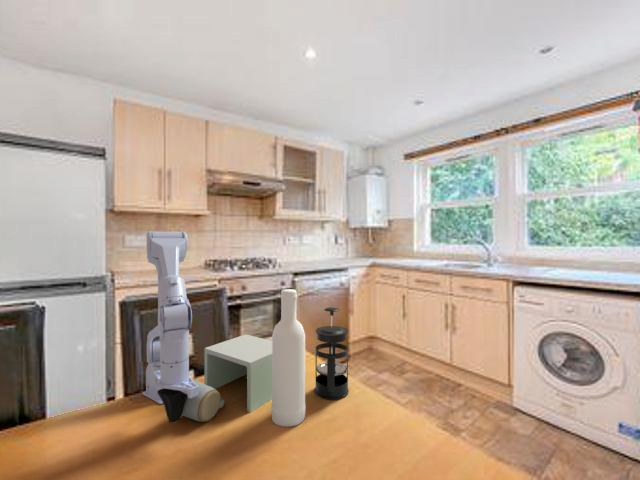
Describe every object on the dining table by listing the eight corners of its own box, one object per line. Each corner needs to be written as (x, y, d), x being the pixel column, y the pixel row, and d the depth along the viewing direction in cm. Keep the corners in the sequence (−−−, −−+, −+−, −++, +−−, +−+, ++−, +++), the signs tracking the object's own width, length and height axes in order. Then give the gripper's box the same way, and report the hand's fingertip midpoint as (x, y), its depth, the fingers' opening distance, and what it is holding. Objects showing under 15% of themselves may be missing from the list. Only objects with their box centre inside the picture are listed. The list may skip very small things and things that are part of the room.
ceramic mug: (199, 430, 68) (199, 395, 68) (173, 420, 72) (173, 387, 72) (232, 407, 77) (232, 376, 78) (208, 400, 81) (208, 370, 81)
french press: (316, 381, 91) (316, 303, 91) (348, 382, 91) (348, 304, 91) (312, 402, 80) (312, 313, 80) (349, 404, 79) (349, 314, 79)
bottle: (268, 427, 69) (269, 293, 69) (274, 408, 77) (274, 287, 77) (304, 427, 69) (304, 293, 69) (306, 408, 77) (306, 287, 77)
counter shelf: (204, 391, 85) (204, 348, 85) (245, 372, 98) (245, 334, 98) (250, 412, 75) (250, 362, 75) (290, 387, 88) (290, 345, 88)
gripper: (139, 357, 69) (139, 418, 69) (176, 373, 61) (176, 442, 61) (169, 348, 75) (169, 404, 75) (207, 361, 67) (207, 424, 67)
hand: (174, 420), depth 69 cm, fingers closed
